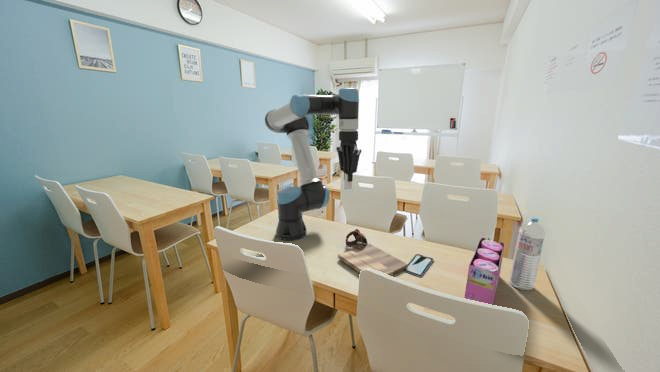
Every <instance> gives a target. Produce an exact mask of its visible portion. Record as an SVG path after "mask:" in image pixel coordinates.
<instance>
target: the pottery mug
mask: <svg viewBox="0 0 660 372" xmlns="http://www.w3.org/2000/svg"><path fill="white" fill-rule="evenodd" d="M350 236H353V237H354V240H352V241H349V238H350ZM359 243H361V244H365V246H366V245H368V244H369V243H368V239H367V238H366V236H365V235H364V234H363V233H362V232H361V231H360V229H359V228H356V229H354V230H352V231H350V232H349V233H347V234H346V236H345V246H346V247H349V248H354V247H357V248H359Z"/></svg>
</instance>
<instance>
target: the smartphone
mask: <svg viewBox="0 0 660 372" xmlns="http://www.w3.org/2000/svg"><path fill="white" fill-rule="evenodd" d="M433 262H434V258H433V257H430V256H426V255H424V254H419V253H416V254H414V256H413V257H412V258H411V259H410V260H409V262H408V263H407V264H408V267H407V268H405V269H403V272H404V273H405V274H410V275H412V276H415V277H418V278H422V277H423V276H424V275H425V273H427V270H429V268H430V266H431V265H432V264H433Z"/></svg>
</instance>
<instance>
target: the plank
mask: <svg viewBox="0 0 660 372" xmlns="http://www.w3.org/2000/svg"><path fill="white" fill-rule="evenodd" d="M357 249H358V248H355V249H352V250H349V251H348V250H347V251H344V252H342V253H338V254H337V258H338V259H339V260H340V261H341V262H343V263H345V264H346V265H348V266H349V267H351V269H353V270H354V271H356V272H358V273H359V274H360V271H361V270H362V269H364V268H372V269H375V270H378V271H381V272H383V273H386V274H388V275H391V276H390V277H392V276H394V275H393V273H394V271H392V270H391V269H389V268H387V267H386V266H384V265H382V264H381V263H379V262H377V261H376V260H374V259H372V258H371V257H369V256H367V255H366V254H364V253H362V252H361V251H359V250H357Z"/></svg>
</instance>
